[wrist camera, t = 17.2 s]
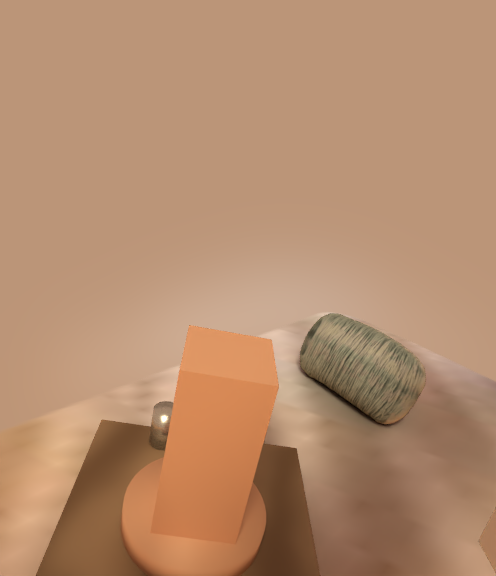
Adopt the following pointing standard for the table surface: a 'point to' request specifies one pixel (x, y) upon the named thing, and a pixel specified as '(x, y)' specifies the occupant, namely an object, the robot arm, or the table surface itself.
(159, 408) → the dowels
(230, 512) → the tall pillar on disc
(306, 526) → the plate
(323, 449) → the table surface
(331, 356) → the spool
